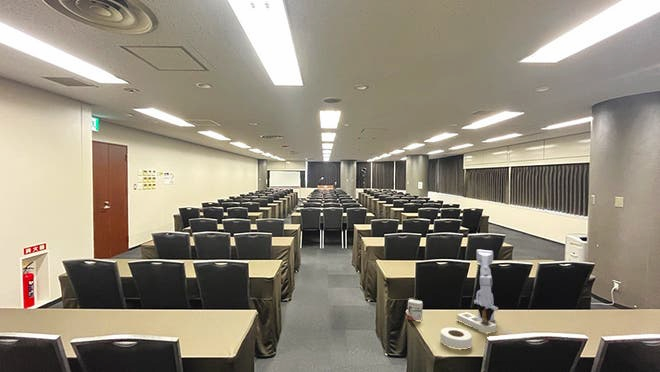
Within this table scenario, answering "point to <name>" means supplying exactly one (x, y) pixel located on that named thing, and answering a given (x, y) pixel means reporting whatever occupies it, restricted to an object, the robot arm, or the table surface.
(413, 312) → the ink box
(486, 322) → the walnut peg
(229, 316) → the table surface
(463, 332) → the roll of tape
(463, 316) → the well block
